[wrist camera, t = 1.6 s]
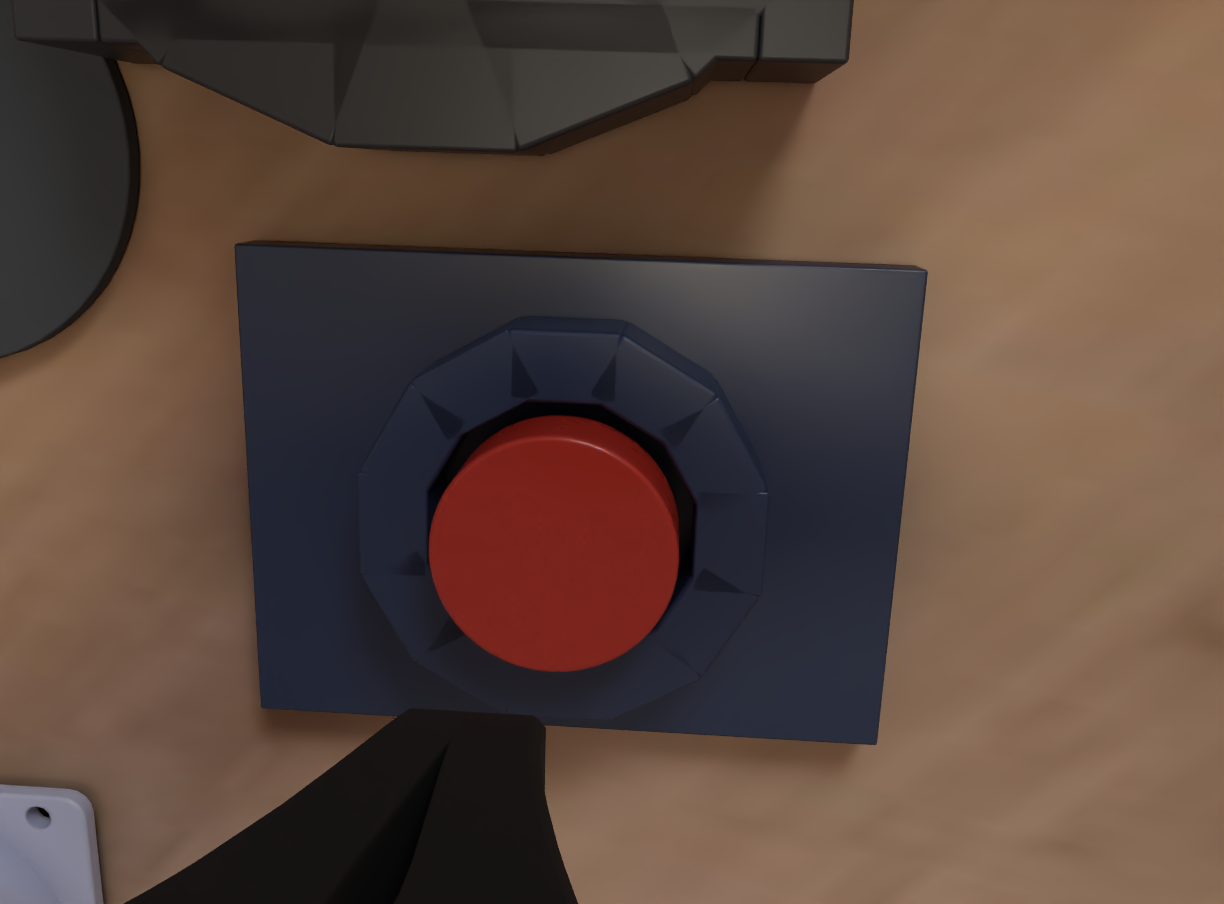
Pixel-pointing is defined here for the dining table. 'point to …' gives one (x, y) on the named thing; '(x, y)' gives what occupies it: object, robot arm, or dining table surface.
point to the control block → (611, 394)
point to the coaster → (59, 184)
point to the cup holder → (454, 60)
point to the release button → (556, 544)
